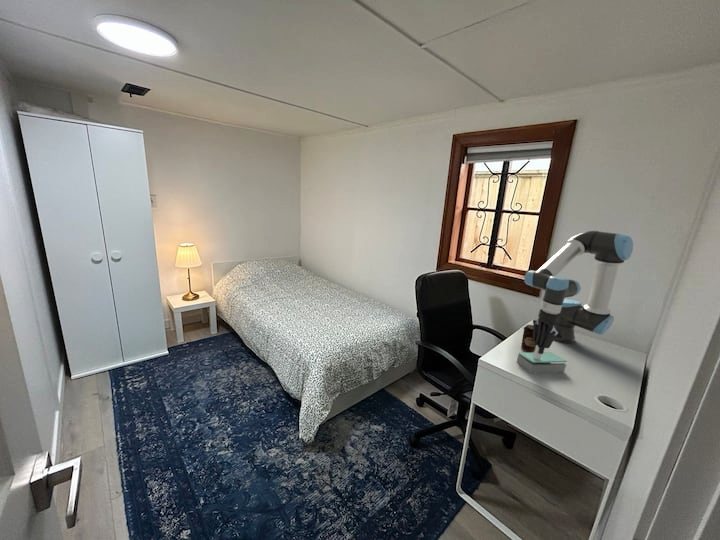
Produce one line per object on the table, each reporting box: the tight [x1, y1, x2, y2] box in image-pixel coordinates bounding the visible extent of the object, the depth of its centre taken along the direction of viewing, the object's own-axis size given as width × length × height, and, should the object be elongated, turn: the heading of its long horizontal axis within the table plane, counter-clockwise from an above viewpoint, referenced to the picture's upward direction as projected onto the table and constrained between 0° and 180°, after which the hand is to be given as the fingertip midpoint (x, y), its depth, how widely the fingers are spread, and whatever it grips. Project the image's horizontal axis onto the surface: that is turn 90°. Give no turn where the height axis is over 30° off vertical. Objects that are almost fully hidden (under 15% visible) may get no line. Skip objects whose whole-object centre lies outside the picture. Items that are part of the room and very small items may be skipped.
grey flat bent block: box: [516, 353, 567, 374], centre depth 141 cm, size 18×9×4 cm, turn 100°
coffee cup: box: [520, 324, 535, 353], centre depth 155 cm, size 9×8×13 cm
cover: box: [518, 351, 567, 364], centre depth 140 cm, size 18×9×1 cm, turn 100°
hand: (536, 358), depth 137 cm, fingers closed
